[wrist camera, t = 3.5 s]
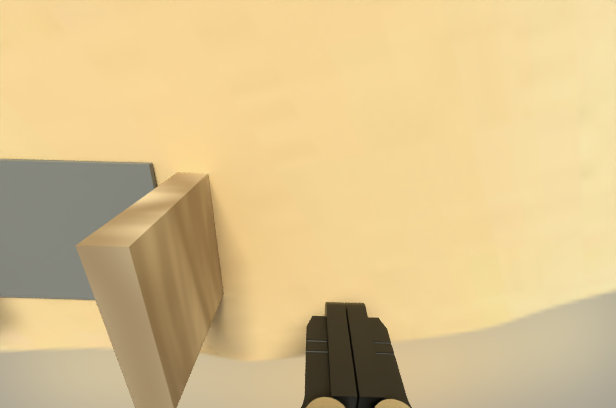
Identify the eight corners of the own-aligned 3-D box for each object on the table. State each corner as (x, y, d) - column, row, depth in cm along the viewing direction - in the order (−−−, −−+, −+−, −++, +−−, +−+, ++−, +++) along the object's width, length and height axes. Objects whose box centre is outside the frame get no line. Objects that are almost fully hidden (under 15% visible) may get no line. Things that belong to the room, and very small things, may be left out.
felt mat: (152, 162, 15) (148, 164, 14) (180, 298, 18) (178, 302, 18) (-80, 156, 15) (-87, 158, 14) (-5, 293, 18) (-10, 296, 18)
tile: (208, 173, 15) (128, 247, 8) (223, 293, 18) (174, 411, 12) (174, 172, 15) (70, 245, 8) (196, 292, 18) (132, 410, 12)
